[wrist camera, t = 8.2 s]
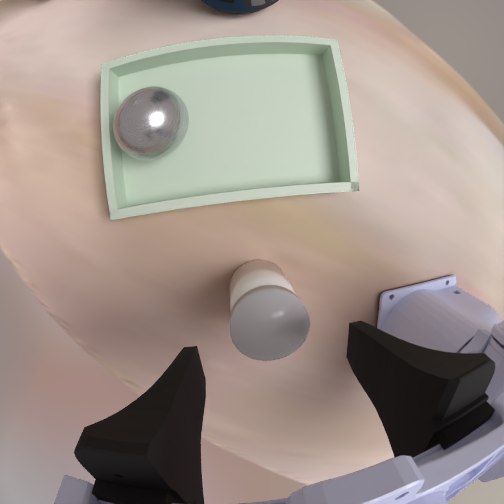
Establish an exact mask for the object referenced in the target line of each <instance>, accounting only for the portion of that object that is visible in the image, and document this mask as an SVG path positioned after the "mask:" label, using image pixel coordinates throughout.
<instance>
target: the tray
mask: <svg viewBox="0 0 504 504" xmlns="http://www.w3.org/2000/svg"><path fill="white" fill-rule="evenodd" d="M151 86H158V87H164V88H167V89H169V90H171V91H173V92H175V93H176V94H177V95H178V96H179V97H180V98H181V99H182V100H183V102H184V103H185V105H186V107H187V110H188V115H189V125H188V130H187V133H186V136H185V138H184V140H183V141H182V143H181V144H180V145H179V146H178V147H177V149H175V150H174V151H173V152H172V153H170V154H169V155H167V156H165V157H163V158H160V159H157V160H150V161H147V160H139V159H135V158H133V157H131V156H129V155H128V154H126V153H125V152H124V151H123V150H122V149H121V148H120V147H119V145H118V144H117V142H116V139H115V137H114V133H113V121H114V116H115V113H116V111H117V109H118V107H119V106H120V104H121V103H122V101H123V100H124V99H125V98H126V97H127V96H129V95H130V94H131V93H133V92H135V91H137V90H139V89H141V88H145V87H151ZM100 106H101V137H102V152H103V164H104V174H105V183H106V191H107V198H108V205H109V212H110V218H111V220H116V219H121V218H127V217H132V216H138V215H144V214H150V213H156V212H162V211H169V210H175V209H182V208H189V207H196V206H204V205H211V204H219V203H227V202H235V201H244V200H253V199H262V198H272V197H282V196H293V195H305V194H318V193H332V192H348V191H359V177H358V165H357V154H356V144H355V136H354V128H353V120H352V113H351V107H350V100H349V94H348V89H347V83H346V78H345V73H344V68H343V63H342V58H341V54H340V50H339V45H338V41H337V39H330V38H320V37H307V36H286V35H259V36H237V37H225V38H215V39H206V40H199V41H192V42H186V43H180V44H175V45H170V46H165V47H160V48H156V49H152V50H147V51H143V52H140V53H136V54H132V55H129V56H125V57H122V58H119V59H116V60H112V61H109V62H106V63H104V64H101V94H100Z"/></svg>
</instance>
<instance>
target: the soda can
mask: <svg viewBox="0 0 504 504" xmlns="http://www.w3.org/2000/svg"><path fill="white" fill-rule="evenodd" d="M202 1H203V2H205V3H206V4H208V5H210V6H211V7H214V8H216V9H218V10H220V11H224V12H228V13H236V14H243V13H251V12H255V11H258V10H261V9H264V8H266V7H268V6H270V5H272V4H274V3H275V2H277V1H278V0H202Z"/></svg>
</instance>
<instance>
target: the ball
mask: <svg viewBox="0 0 504 504" xmlns="http://www.w3.org/2000/svg"><path fill="white" fill-rule="evenodd" d="M188 125H189V115H188V110H187V107H186V105H185V103H184V102H183V100H182V99H181V98H180V97H179V96H178V95H177V94H176V93H175V92H173V91H171V90H169V89H167V88H164V87H158V86H151V87H145V88H141V89H139V90H137V91H135V92H133V93H131V94H130V95H129V96H127V97H126V98H125V99H124V100H123V101H122V103H121V104H120V106H119V107H118V109H117V111H116V113H115V116H114V121H113V133H114V137H115V139H116V142H117V144H118V145H119V147H120V148H121V149H122V150H123V151H124V152H125V153H126V154H128V155H129V156H131V157H133V158H135V159H139V160H147V161H150V160H157V159H160V158H163V157H165V156H167V155H169V154H170V153H172V152H173V151H174V150H175V149H177V147H178V146H179V145H180V144H181V143H182V141H183V140H184V138H185V136H186V133H187V130H188Z"/></svg>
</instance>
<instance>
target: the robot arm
mask: <svg viewBox="0 0 504 504" xmlns="http://www.w3.org/2000/svg"><path fill="white" fill-rule="evenodd" d="M456 279H457V278H456V276H454V275H450V276H447V277H443V278H439V279H435V280H431V281H427V282H423V283H419V284H415V285H411V286H407V287H402V288H398V289H394V290H389V291H385V292H383V293H382V294H381V296H380V304H379V314H378V323H377V328H376V327H374V326H372V325H369V324H367V323H365V322H363V321H357V322H353V323H349V335H348V347H347V359H348V361H349V364H350V366H351V368H352V370H353V373H354V374H355V376H356V377H357V379H358V381H359V382H360V384H361V385H362V387H363V389H364V390H365V392H366V393H367V395H368V397H369V398H370V400H371V401H372V403H373V405H374V406H375V408H376V410H377V412H378V415H379V417H380V419H381V421H382V423H383V426H384V428H385V431H386V434H387V436H388V439H389V442H390V445H391V447H392V450H393V453H394V457H395V458H391V459H389V460H386V461H384V462H381V463H379V464H376V465H373V466H371V467H368V468H365V469H362V470H359V471H356V472H353V473H350V474H347V475H343V476H340V477H337V478H333V479H329V480H325V481H321V482H318V483H315V484H312V485H309V486H305V487H303V488H301V489H299V490H297V491H295V492H293V493H292V494H291V495H290V496H289V497H288V498H284V499H278V500H270V501H263V502H253V503H241V504H448V502H447V501H448V500H450V499H451V498H453V497H454V496H455V495H457V494H458V493H460V492H461V491H462V490H463V489H465V488H466V487H468V486H469V485H470V484H471V483H473V482H474V481H475V480H477V479H479V480H480V481H482V482H488V481H491V480H495V479H498V478H501V477H503V476H504V321H501V318H500V316H499V314H498V313H497V312H496V310H495V309H494V308H493V307H491V306H490V305H488V304H486V303H485V302H483V301H481V300H480V299H478V298H476V297H475V296H473V295H471V294H470V293H468V292H466V291H464V290H463V289H461V288H459V287H457V286H456ZM390 295H392V296H391V297H390ZM389 297H390V298H389ZM205 398H206V381H205V376H204V372H203V368H202V364H201V361H200V357H199V353H198V349H197V346H194V347H184V348H183V349H182V350H181V352H180V353H179V354H178V356H177V357H176V358H175V360H174V361H173V362H172V364H171V365H170V366H169V367H168V369H167V370H166V371H165V372H164V373H163V375H162V376H161V377H160V378H159V379H158V380H157V381H156V382H155V383H154V385H153V386H152V387H150V388H149V389H148V390H147V391H146V392H145V393H144V394H143V395H141V396H140V397H139V398H138V399H137V400H135V401H134V402H132V403H131V404H129V405H128V406H127V407H125V408H124V409H122V410H121V411H119V412H117V413H116V414H114V415H112V416H110V417H108V418H106V419H104V420H101V421H99V422H97V423H94V424H92V425H89V426H87V427H85V428H84V430H83V432H82V434H81V436H80V439H79V441H78V444H77V446H76V448H75V451H74V453H75V456H76V458H77V459H78V461H79V462H80V464H82V466H83V467H84V468H85V469H86V470H87V471H88V472H89V473H90V474H91V475H92V476H93V477H94V478H95V479H96V480H95V484H94V485H93V484H91V483H89V482H87V481H84V480H81V479H77V478H74V477H71V476H68V475H65V476H64V477H63V480H62V483H61V486H60V488H59V491H58V494H57V497H56V500H55V503H54V504H204V497H203V487H202V474H201V431H202V423H203V415H204V407H205Z"/></svg>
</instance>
